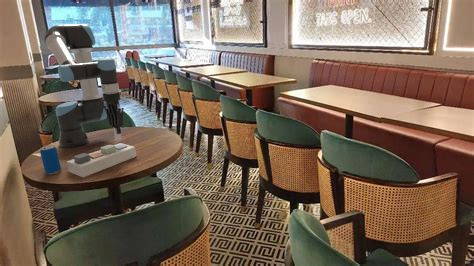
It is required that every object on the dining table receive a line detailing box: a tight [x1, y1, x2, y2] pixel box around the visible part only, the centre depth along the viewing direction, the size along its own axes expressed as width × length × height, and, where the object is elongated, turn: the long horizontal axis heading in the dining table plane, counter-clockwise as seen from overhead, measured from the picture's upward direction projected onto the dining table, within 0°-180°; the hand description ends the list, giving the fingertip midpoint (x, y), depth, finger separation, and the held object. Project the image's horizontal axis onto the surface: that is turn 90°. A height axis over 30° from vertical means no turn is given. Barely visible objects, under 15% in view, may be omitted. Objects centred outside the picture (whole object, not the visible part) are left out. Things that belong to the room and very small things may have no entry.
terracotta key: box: [90, 152, 104, 159], centre depth 153 cm, size 5×5×3 cm
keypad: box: [66, 142, 137, 178], centre depth 156 cm, size 12×28×5 cm, turn 143°
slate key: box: [115, 143, 127, 150], centre depth 163 cm, size 5×5×3 cm
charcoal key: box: [73, 152, 91, 164], centre depth 148 cm, size 5×5×3 cm
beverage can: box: [39, 144, 62, 175], centre depth 148 cm, size 6×6×12 cm
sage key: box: [99, 144, 116, 155], centre depth 158 cm, size 5×5×3 cm
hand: (118, 139), depth 162 cm, fingers closed
